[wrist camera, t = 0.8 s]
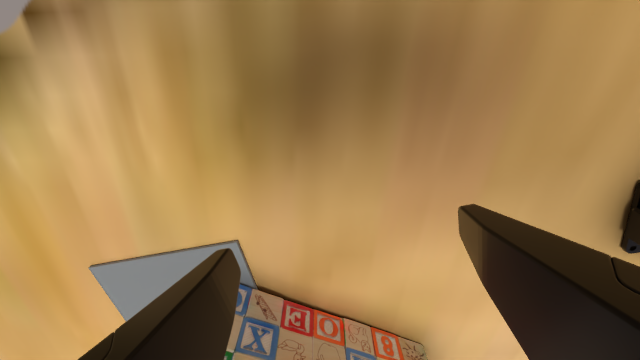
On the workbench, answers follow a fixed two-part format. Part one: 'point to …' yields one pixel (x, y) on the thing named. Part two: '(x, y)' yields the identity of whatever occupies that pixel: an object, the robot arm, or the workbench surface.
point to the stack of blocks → (307, 334)
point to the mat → (157, 275)
